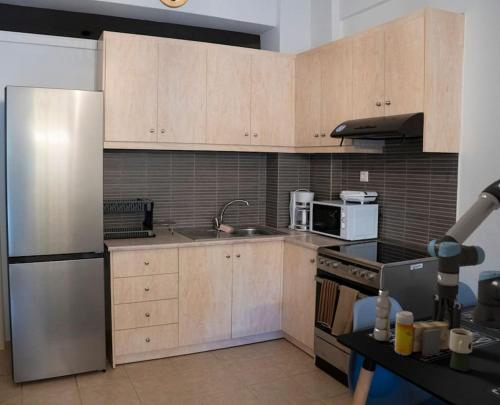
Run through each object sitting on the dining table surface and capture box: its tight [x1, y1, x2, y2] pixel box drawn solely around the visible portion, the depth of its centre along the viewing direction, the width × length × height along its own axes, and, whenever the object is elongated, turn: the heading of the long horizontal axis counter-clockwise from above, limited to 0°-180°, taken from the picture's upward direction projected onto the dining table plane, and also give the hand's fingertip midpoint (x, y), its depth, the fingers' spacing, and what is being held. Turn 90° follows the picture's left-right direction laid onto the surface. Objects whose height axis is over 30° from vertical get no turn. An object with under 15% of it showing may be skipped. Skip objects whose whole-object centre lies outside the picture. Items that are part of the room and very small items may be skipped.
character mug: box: [449, 328, 474, 372], centre depth 166 cm, size 11×7×13 cm, turn 156°
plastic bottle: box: [373, 288, 393, 342], centre depth 191 cm, size 6×7×20 cm
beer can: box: [394, 310, 414, 356], centre depth 179 cm, size 6×6×15 cm
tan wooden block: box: [412, 320, 453, 353], centre depth 184 cm, size 20×4×9 cm, turn 110°
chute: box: [413, 320, 443, 357], centre depth 182 cm, size 7×12×9 cm, turn 20°
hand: (444, 342), depth 186 cm, fingers closed on tan wooden block, 4 cm apart
